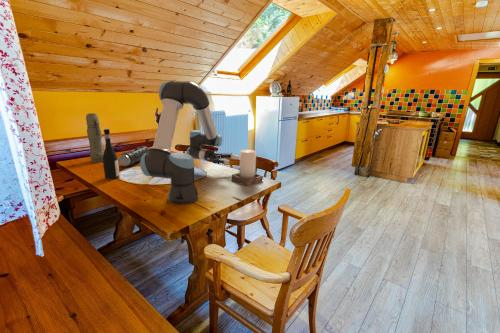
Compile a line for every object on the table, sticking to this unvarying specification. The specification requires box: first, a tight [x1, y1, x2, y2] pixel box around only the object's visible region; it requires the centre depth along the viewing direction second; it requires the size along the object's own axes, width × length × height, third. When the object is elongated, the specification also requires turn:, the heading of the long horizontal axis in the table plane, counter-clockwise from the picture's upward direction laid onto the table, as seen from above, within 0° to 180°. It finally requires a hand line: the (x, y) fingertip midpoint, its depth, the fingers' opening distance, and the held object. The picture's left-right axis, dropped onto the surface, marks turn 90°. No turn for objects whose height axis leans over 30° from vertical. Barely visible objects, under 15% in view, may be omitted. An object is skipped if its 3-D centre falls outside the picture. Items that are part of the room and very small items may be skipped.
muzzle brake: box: [118, 145, 149, 167], centre depth 188 cm, size 10×28×10 cm, turn 174°
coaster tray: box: [231, 172, 264, 187], centre depth 161 cm, size 14×14×4 cm
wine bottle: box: [102, 128, 120, 180], centre depth 153 cm, size 8×8×30 cm
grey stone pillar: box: [85, 112, 104, 164], centre depth 185 cm, size 9×12×35 cm
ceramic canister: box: [238, 149, 257, 180], centre depth 158 cm, size 10×10×18 cm
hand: (234, 160), depth 162 cm, fingers open, 13 cm apart
